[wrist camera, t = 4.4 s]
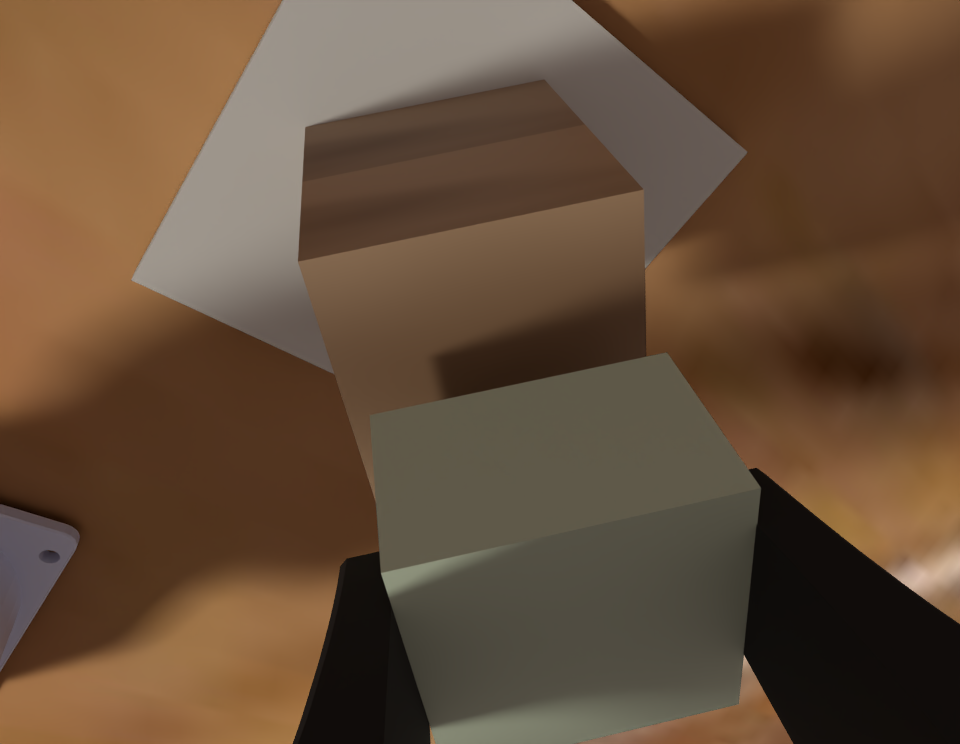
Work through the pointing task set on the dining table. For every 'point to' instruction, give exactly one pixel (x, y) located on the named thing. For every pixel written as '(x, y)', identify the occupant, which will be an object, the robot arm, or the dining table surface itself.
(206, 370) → the dining table surface
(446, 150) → the tower base
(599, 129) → the felt mat
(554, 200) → the tower top
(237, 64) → the dining table surface
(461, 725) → the pale green cube
